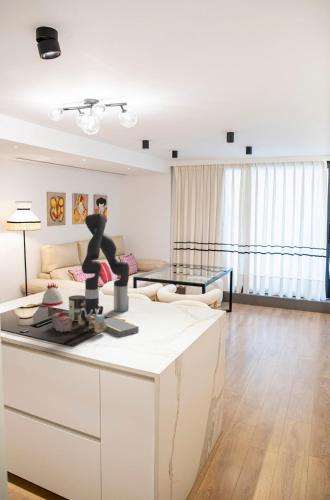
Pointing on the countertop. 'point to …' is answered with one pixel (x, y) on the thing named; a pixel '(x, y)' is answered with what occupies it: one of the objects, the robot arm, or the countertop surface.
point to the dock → (120, 327)
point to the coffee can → (76, 306)
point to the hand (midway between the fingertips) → (92, 325)
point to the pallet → (93, 324)
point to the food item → (61, 322)
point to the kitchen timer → (52, 296)
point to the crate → (100, 318)
